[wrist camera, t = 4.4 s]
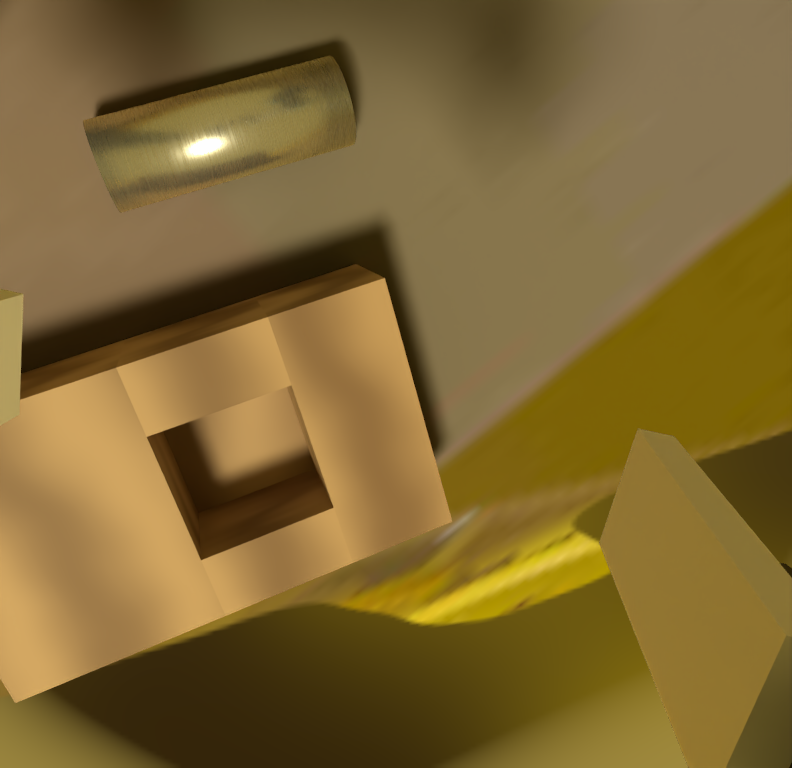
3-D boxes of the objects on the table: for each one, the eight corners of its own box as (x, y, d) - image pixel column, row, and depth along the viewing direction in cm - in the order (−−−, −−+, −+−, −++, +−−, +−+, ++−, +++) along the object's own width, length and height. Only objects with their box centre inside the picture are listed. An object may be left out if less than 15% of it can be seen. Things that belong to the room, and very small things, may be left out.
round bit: (325, 95, 31) (325, 35, 28) (354, 162, 30) (358, 108, 27) (103, 156, 29) (74, 100, 26) (128, 228, 28) (101, 180, 25)
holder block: (355, 264, 33) (384, 277, 28) (418, 478, 37) (452, 521, 32) (-88, 409, 29) (-139, 452, 24) (37, 630, 33) (15, 702, 29)
